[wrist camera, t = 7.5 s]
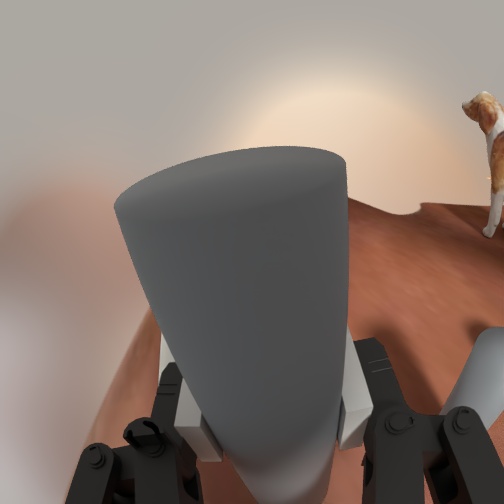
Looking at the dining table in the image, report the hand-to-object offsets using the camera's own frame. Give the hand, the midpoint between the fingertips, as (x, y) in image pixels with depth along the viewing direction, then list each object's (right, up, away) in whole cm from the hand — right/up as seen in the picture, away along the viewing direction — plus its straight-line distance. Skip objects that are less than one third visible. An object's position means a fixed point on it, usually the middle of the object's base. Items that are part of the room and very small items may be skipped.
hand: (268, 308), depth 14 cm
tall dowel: (+1, -10, -1) cm, 10 cm away
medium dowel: (+14, -13, +4) cm, 20 cm away
